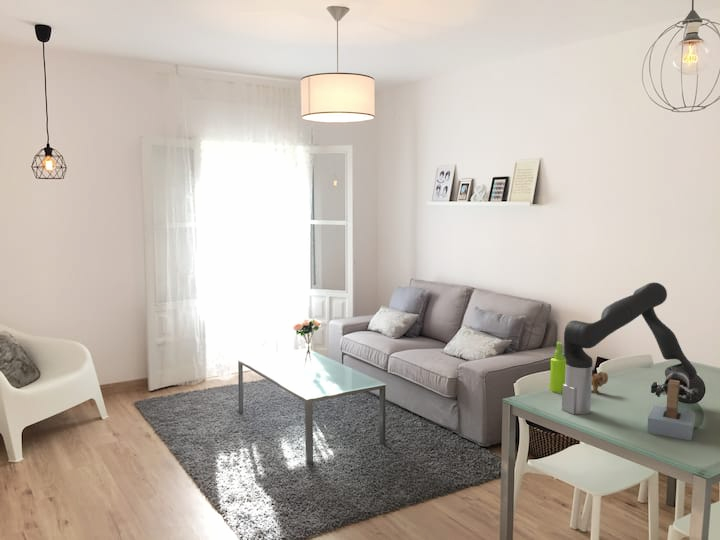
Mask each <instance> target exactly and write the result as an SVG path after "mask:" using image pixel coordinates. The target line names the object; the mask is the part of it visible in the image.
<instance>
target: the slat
mask: <svg viewBox="0 0 720 540" xmlns="http://www.w3.org/2000/svg"><path fill="white" fill-rule="evenodd" d="M679 384H680V381H677V380H669V382H668V390H667V395H666V396H667V397H666V406H665V407H666V417H667V418H673V419H677V416H678V410H679Z"/></svg>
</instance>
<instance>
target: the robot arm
mask: <svg viewBox="0 0 720 540" xmlns="http://www.w3.org/2000/svg"><path fill="white" fill-rule="evenodd" d="M667 296H668V291H667V288H666V287H665V286H664V285H663V284H661V283H658V282H648V283H647V284H645V285H643V286H641V287H639V288H637V289H636V290H634V291H633V294H631V295H630V296H625V297H623V298H620V299H619V300H616V301H614V302H612V303H611V304H609V305H607V306H606V307H605V308H604V309H603V310H602V313H601V317H600V319H598V320H597V321H594V322H585V321H580V320H570V321H569V322H568V323H567V324H566V326H565V327H564V332H563V357H564V359H566V370H565V384H563V390H562V393H561V396H562V397H561V410H563V411H565V412H567V413H570V414H572V415H587V414H589V413H591V405H592V401H591V400H592V399H591V398H592V386H593V385H592V375H593V362H594V361H593V358H592V357H591V356H590V355H589V354H587V353H586V351H584V349H592V348H594V347H595V346H597V345H599V344H600V342H602V341H603V340H605V339H606V338H607V337H608V336H610V335H611V334H612V333H615V332H616V331H617V330H620V329H621V328H623V327H625V326H626V325H628V324H629V323H631V322H633V321H634V320H635V319H636V318H638V317H639V316H642V318H643V319H644V321H645V323H646V324H647V326H648V327H649V329H650V330H651V332H652V334H653V336H654V338H655V339H654V340H656V343H657V346H658V348H659V350H660V353H661V355H662V357H663V359H664V360H669V361H671V360H678V361H679V362H680V363H677V364H674V365H671V366H668V367H666V368H665V370H664V375H665V378H666V379H665V381H664V383H662V384H659V383H658V381H653V383H652V384H651V385H650V393H651V394H655V396H657V398H660V397H661V395H663V396H667V390H668V382H669V380H677V381H680V384H679V398H680V399H681V398H682V399H685V402H689V401H691V400H692V399H693V400H695V401H696V400H697V401H698V399H699V388H697V387H693V388H692V389H691V388H690V382H691V381H694V380H696V378H697V374H698V373H697V370H696V367H694V365H693V364H692V363H691V361H690V360H689V359H688V358H687V356H686V355H685V354H684V352H683V349H682V347H681V346H680V343H679V341H678V338H677V336H676V334H675V333H674V331H673V330H671V328H669V327H668V326H667V325H666V324H664V323H663V322H662V321H661V319H660V318H659V317H658V316H657V314H656V311H655V307H658V306H660V305H662V304H664V303H665V302H666V300H667Z"/></svg>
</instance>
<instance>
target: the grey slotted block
mask: <svg viewBox="0 0 720 540" xmlns="http://www.w3.org/2000/svg"><path fill="white" fill-rule="evenodd" d="M666 407H667V406H658V405H655V404H654V405H653V406H652V407H651V410H650V412H649V415H648V417H647V427H646V428H647V432H646V433H647V434H648V433H649V434H653V435H659V436H665V437H670V438H676V439H680V440H686V441H693V440H692V439H693V434H694V429H695V417H696V411H690V410H685V409H678V416H677V419H673V418H667V417H666Z"/></svg>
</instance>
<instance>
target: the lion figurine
mask: <svg viewBox="0 0 720 540" xmlns="http://www.w3.org/2000/svg"><path fill="white" fill-rule="evenodd" d="M608 375H609V374H608V373H606V372H605V371H599V372H597V373H593V374H592V385H591V386H592V390H593V394H594V393H597V394H598V393H599V392H600V391H599V390H598V388H599V387H602V386H603V385H605V384H607V382H608V380H609V376H608Z"/></svg>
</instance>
